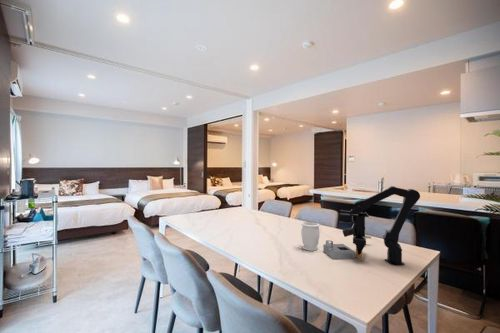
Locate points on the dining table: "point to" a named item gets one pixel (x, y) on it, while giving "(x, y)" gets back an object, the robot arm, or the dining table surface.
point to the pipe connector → (366, 236)
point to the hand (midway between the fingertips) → (359, 252)
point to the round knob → (358, 254)
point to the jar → (310, 235)
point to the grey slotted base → (338, 250)
